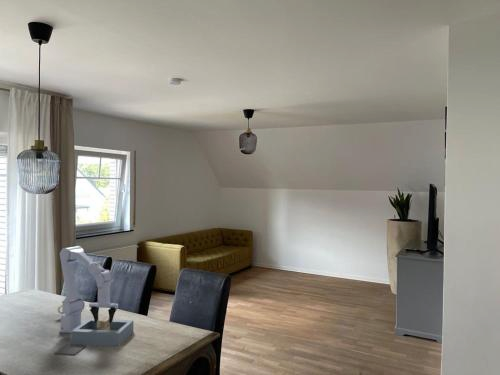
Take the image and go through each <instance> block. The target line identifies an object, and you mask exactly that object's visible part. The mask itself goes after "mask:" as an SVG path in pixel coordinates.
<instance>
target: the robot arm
mask: <svg viewBox="0 0 500 375" xmlns="http://www.w3.org/2000/svg"><path fill="white" fill-rule="evenodd" d="M84 250H85V249H84V248H82V246H80V245H76V246H71V247H63V248H62V249H60V252H59V258H60V264H61V270H62V277H63V282H64V283H63V284H64V288H65V293H66V296H65V298H64V299H62V301H63V303H62V305H63V308H62V307H61V308H62V309H63V312H64V314H63V315H62V314H61V317H60V331H59V333H68V334H71V331H72V330H73V329H75V328H76V327H78V326H79V325H81V324H82V313H83V310H84V309H85V308H86V307H85V301H84V299H83V296H82V295H80V294H79V293H78V288H77V281H76V277H75V269H74V264H75V262H76V261H77V260H78V261H79V262H80V263H81V264H83V265H84V266H85V267H87V272H88V273H90V274H91V275H92V276H93V277H94V281H95V282H96V286H97V301H96V302H89V304H88V308H89V311H90V313H91V316H92V317H93V319H94V321H95V322H97V321H98V319H99V312H100V308H104V309H108V310H107V312H108V318H109V323H111V322H112V321H113V320H114V317H115V313H116V311H117V309H118V308H119V303H114V302H111V297H110V296H111V295H110V294H111V293H110V292H111V281H112V280H113V272H112V271H111V270H109V269H105V268H104V267H103V266H101V264H99V262H97V261H92V260H91V258H90V257H89V256H88V255H87V254H86V253H85V251H84ZM73 300H74V301H73Z"/></svg>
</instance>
